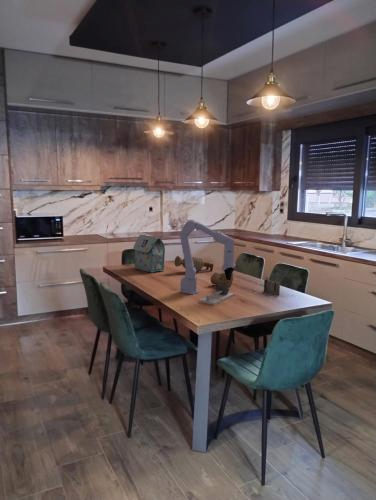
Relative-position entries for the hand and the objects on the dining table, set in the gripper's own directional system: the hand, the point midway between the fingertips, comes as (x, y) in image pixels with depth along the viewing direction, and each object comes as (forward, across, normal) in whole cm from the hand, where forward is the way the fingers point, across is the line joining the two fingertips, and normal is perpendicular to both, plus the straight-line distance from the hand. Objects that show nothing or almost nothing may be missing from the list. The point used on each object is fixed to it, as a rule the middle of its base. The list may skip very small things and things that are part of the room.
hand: (228, 279), depth 240 cm
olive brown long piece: (+9, +40, +50) cm, 64 cm away
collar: (+7, -7, 0) cm, 10 cm away
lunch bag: (+9, +24, +81) cm, 85 cm away
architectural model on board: (+10, +19, -20) cm, 29 cm away
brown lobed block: (+9, +12, +10) cm, 18 cm away
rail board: (+9, -13, 0) cm, 16 cm away
